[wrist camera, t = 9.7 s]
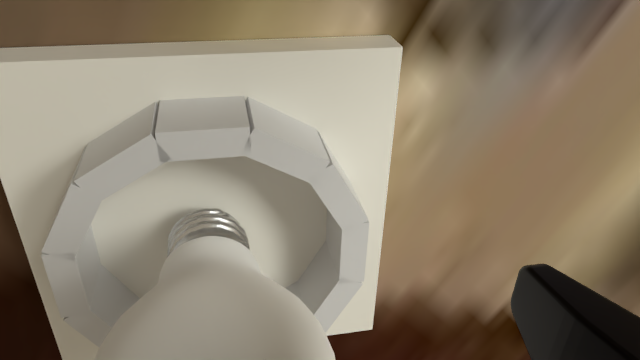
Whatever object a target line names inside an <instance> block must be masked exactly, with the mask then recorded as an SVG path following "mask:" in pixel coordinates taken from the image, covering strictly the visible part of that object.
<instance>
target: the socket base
mask: <svg viewBox="0 0 640 360" xmlns="http://www.w3.org/2000/svg"><path fill="white" fill-rule="evenodd" d="M402 50H403V47H402V46H401V45H400V44H399V43H398V42H397V41H396V40H395V39H393V38H392V37H391V36H390V35H373V36H343V37H314V38H284V39H254V40H224V41H194V42H164V43H134V44H105V45H75V46H45V47H15V48H0V179H1V182H2V185H3V188H4V190H5V193H6V196H7V199H8V202H9V205H10V208H11V211H12V214H13V217H14V220H15V223H16V225H17V228H18V231H19V234H20V237H21V240H22V243H23V246H24V249H25V252H26V255H27V258H28V260H29V263H30V266H31V269H32V272H33V275H34V278H35V281H36V284H37V287H38V290H39V293H40V295H41V298H42V301H43V304H44V307H45V310H46V313H47V316H48V319H49V322H50V325H51V328H52V330H53V333H54V336H55V339H56V342H57V345H58V348H59V351H60V354H61V357H62V360H95V357H96V355H97V352H98V350H99V347H100V346H101V344H102V343H103V341H104V339H105V338H106V336H107V335H108V333H109V332H110V330H111V329H112V327H113V326H114V325H115V323H116V322H117V320H118V319H119V318H120V316H121V315H122V314H123V313H125V312H126V311H127V310H128V309H129V308H130V307H131V306H132V305H133V304H135V303H136V302H137V301H138V300H139V299H140V298H141V297H142V296H144V295H145V294H146V293H147V292H148V291H150V290H151V289H152V288H153V287H155V286H156V285H157V284H158V281H159V276H160V271H161V269H162V267H163V264H164V262H165V260H166V259H167V250H168V235H169V233H170V232H171V230H172V228H173V226H174V224H175V223H176V222H177V221H178V220H180V219H181V218H182V217H183V216H185V215H186V214H187V213H190V212H193V211H196V210H199V209H202V208H219V209H221V210H223V211H225V212H226V213H228V214H230V215H231V216H232V217H233V218H235V219H236V220H237V221H238V222H239V223H240V226H241V227H243V228H244V230H245V233H246V235H247V238H248V240H249V241H248V244H249V247H250V249H249V251H250V252H251V253H252V254H253V256H254V257H255V259H256V261H257V263H258V265H259V269H260V272H261V274H263V275H264V276H266V277H268V278H270V279H271V280H273V281H275V282H276V283H278V284H279V285H281V286H282V287H284V288H285V289H287V290H288V291H290V292H291V293H293V294H294V295H296V296H297V297H298V298H299V299H300V300H301V301H302V302H303V303H304V304H305V305H306V306H307V308H308V309H309V310H310V311H311V312H312V314H313V315H314V316H315V317H316V318H317V320H318V321H319V322H320V324H321V326H322V328H323V330H324V332H325V334H326V336H328V335H335V334H343V333H350V332H357V331H364V330H371V329H372V327H373V318H374V309H375V300H376V290H377V281H378V272H379V263H380V253H381V244H382V235H383V226H384V216H385V207H386V198H387V189H388V179H389V170H390V161H391V152H392V142H393V133H394V124H395V115H396V105H397V96H398V87H399V78H400V68H401V59H402Z"/></svg>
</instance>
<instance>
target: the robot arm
mask: <svg viewBox="0 0 640 360" xmlns="http://www.w3.org/2000/svg"><path fill="white" fill-rule="evenodd" d="M511 309H512V313H513V316H514V318H515V321H516V323H517V326H518V328H519V331H520V333H521V335H522V338H523V340H524V343H525V345H526V348H527V350H528V353H529V355H530V357H531V360H640V317H638V316H636V315H635V314H633V313H631V312H629V311H628V310H626V309H624V308H622V307H621V306H619V305H617V304H615V303H614V302H612V301H610V300H609V299H607V298H605V297H603V296H602V295H600V294H598V293H596V292H595V291H593V290H591V289H589V288H588V287H586V286H584V285H582V284H581V283H579V282H577V281H575V280H574V279H572V278H570V277H568V276H567V275H565V274H563V273H561V272H560V271H558V270H556V269H554V268H553V267H551V266H549V265H547V264H535V265H527V266H523V267H522V268H521V269H520V271H519V273H518V277H517V280H516V284H515V287H514V291H513V294H512V298H511Z"/></svg>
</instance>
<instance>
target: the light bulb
mask: <svg viewBox="0 0 640 360" xmlns="http://www.w3.org/2000/svg"><path fill="white" fill-rule="evenodd" d="M248 241H249V240H248V238H247V235H246V233H245V230H244V228H243V227H241V226H240V223H239V222H238V221H237V220H236V219H235V218H233V217H232V216H231V215H230V214H228V213H226V212H225V211H223V210H221V209H219V208H202V209H199V210H196V211H193V212H190V213H187V214H186V215H185V216H183V217H182V218H181V219H180V220H178V221H177V222H176V223H175V224H174V226H173V228H172V230H171V232H170V233H169V235H168V250H167V259H166V260H165V262H164V264H163V267H162V269H161V271H160V276H159V281H158V284H157V285H156V286H155V287H153V288H152V289H151V290H150V291H148V292H147V293H146V294H145V295H144V296H142V297H141V298H140V299H139V300H138V301H137V302H136V303H135V304H133V305H132V306H131V307H130V308H129V309H128V310H127V311H126V312H125V313H123V314H122V315H121V316H120V318H119V319H118V320H117V322H116V323H115V325H114V326H113V327H112V329H111V330H110V332H109V333H108V335H107V336H106V338H105V339H104V341H103V343H102V344H101V346H100V347H99V350H98V352H97V355H96V357H95V360H335V355H334V352H333V350H332V347H331V345H330V343H329V341H328V338H327V336H326V334H325V332H324V330H323V328H322V326H321V324H320V322H319V321H318V320H317V318H316V317H315V316H314V315H313V314H312V312H311V311H310V310H309V309H308V308H307V306H306V305H305V304H304V303H303V302H302V301H301V300H300V299H299V298H298V297H297V296H296V295H294V294H293V293H291V292H290V291H288V290H287V289H285V288H284V287H282V286H281V285H279V284H278V283H276V282H275V281H273V280H271V279H270V278H268V277H266V276H264V275H263V274H261V272H260V269H259V265H258V263H257V261H256V259H255V257H254V256H253V254H252V253H251V252H250V251H249V249H250V247H249V244H248Z"/></svg>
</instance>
